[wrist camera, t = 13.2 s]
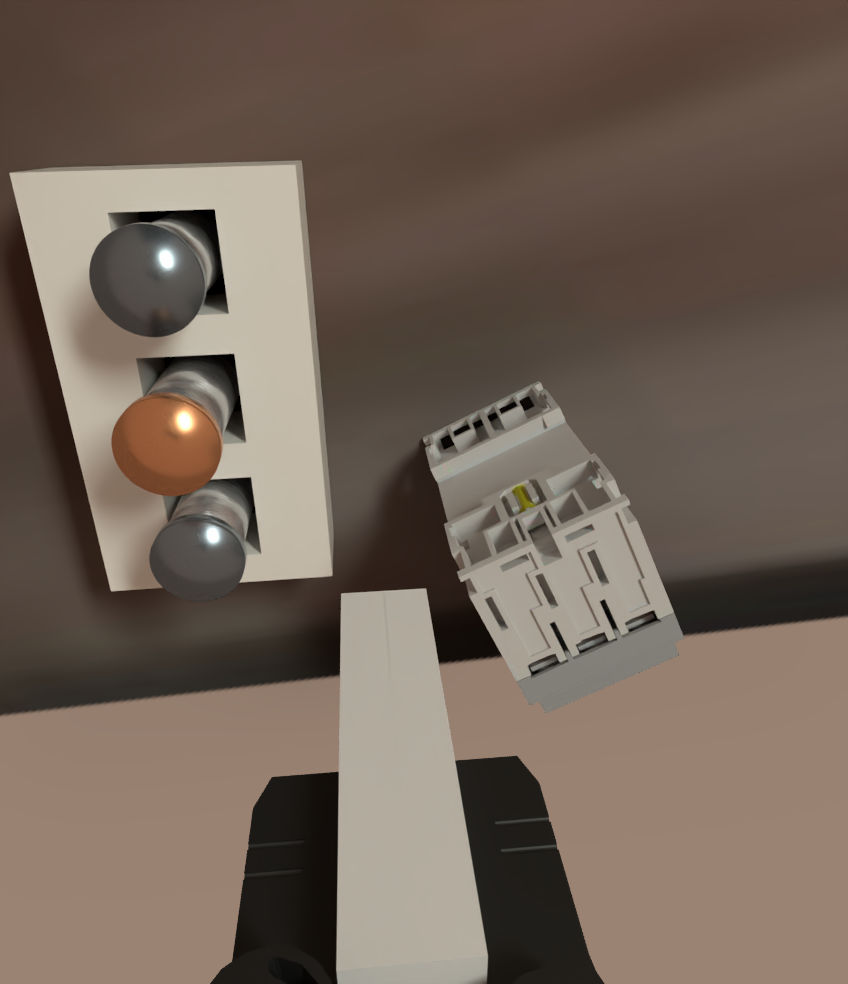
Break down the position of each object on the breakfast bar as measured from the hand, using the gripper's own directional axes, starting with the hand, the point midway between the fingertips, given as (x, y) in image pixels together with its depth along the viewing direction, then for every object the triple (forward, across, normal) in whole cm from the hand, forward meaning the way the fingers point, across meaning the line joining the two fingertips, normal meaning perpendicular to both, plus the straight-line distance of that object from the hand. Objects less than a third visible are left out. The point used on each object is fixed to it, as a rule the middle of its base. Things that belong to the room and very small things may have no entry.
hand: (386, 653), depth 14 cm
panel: (+30, -8, -4) cm, 31 cm away
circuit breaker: (+30, +10, -13) cm, 34 cm away
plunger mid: (+28, -8, -4) cm, 29 cm away
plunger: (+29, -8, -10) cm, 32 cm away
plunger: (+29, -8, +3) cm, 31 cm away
